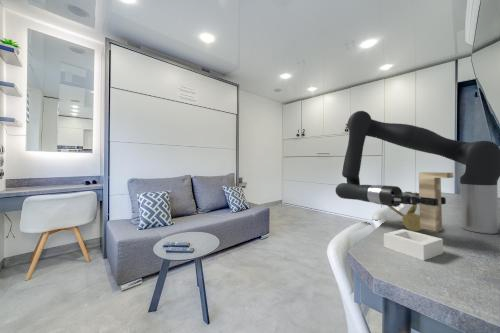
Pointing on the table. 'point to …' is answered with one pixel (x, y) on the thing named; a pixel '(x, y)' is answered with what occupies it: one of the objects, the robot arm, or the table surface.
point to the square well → (413, 244)
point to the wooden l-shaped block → (431, 189)
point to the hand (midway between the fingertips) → (441, 201)
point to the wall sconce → (410, 219)
